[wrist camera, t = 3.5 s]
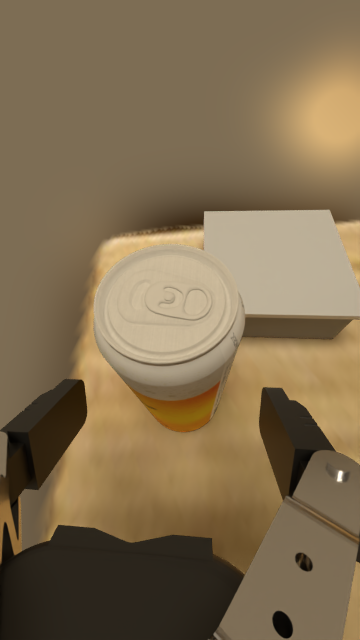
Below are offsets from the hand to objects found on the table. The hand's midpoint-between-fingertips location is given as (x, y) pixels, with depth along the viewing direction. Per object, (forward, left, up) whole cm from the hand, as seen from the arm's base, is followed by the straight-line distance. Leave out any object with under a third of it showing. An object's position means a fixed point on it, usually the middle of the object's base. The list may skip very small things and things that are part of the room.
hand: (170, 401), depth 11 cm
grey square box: (-8, -15, -11) cm, 20 cm away
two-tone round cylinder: (0, -3, -11) cm, 11 cm away
